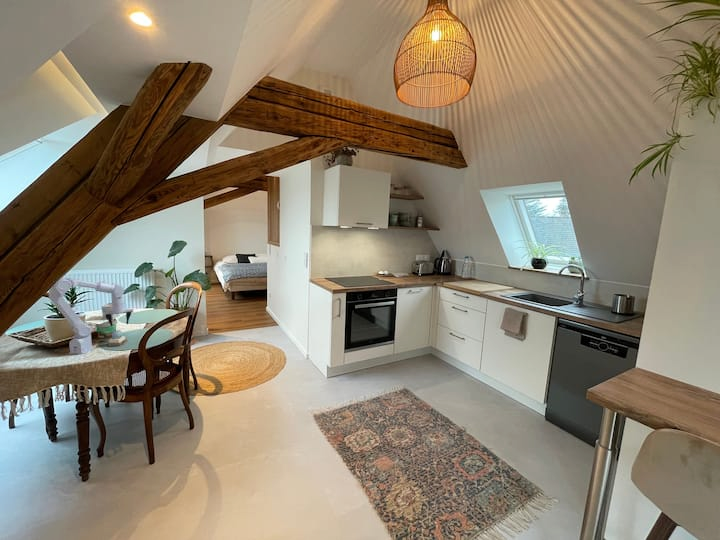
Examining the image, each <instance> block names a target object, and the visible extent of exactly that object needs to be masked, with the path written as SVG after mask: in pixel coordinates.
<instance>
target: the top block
mask: <svg viewBox="0 0 720 540" xmlns="http://www.w3.org/2000/svg"><path fill="white" fill-rule="evenodd" d="M125 339H126V336H125V335H122V338H119V339H112V337H110V338H108V343H120V342H121V341H123V340H125Z"/></svg>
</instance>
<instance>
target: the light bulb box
mask: <svg viewBox="0 0 720 540" xmlns="http://www.w3.org/2000/svg"><path fill="white" fill-rule="evenodd" d="M107 311H112V302H108V303H106V304H105V305H103V306H101V313H102V321H108V320H107V318H106V316H103V312H107ZM120 315H121V314H113V315H112V320H114V319H117V318H119V316H120Z"/></svg>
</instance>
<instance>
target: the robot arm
mask: <svg viewBox="0 0 720 540" xmlns="http://www.w3.org/2000/svg"><path fill="white" fill-rule="evenodd" d="M77 287H82V288H89V289H94V290H95V291H96V292H99V293H106V294H111V303H112V311H107V312H103V314H102V317H103V316H106V318H107V320H106V321H107V322H108V321H109V323H110V325H111V326H113V324H112V315H113V314H120V315H121V314H125V316H126V325H129V320H130V318H131V316H132V313H134V308H129V309H127V308H125V301H124V293H125V289H124V287H123V286H122V285H118V284H117V283H116V284H115V283H109V282H106V281H105V280H104V281H98V282H91V281H86V280H83V279H77V278H70V277H65V278H64V277H62V278H61V279H60V280H59V281H58V282H57V283H56V284H55V285H54V286H53V287H52V288H51V289H50V290H48V299H49V300H50V302H52V304H53V305H54V306H55V307H56V308H57V310H58V311H59V312H60V313H61V314H62V316H63V317H64V318H65V319H66V321H67V322H68V323H69V324H70V326H71V331H72V332H73V333H74V334H73V338H72V339H71V340H70V341H69V345H68V346H69V352H68V355H74V354H75V355H76V354H79V355H81V354H82V355H83V354H86V353H88V352H90V351H92V350H93V349H96V348H97V346H95V345H94V346H93V343H92V330H93V328H92V327H91V326H89V325H87V324H86V323H85V322H84V321H83V320H82V319H81V318H80V317H79V315H78V314H77V313H76V312H75V310H74V308H72V306H71V305H70V304H69V303H68V301H67V300H66V299H65V297H64V296H65V294H66V293H67V292H68V291H69V290H70V289H75V288H77Z"/></svg>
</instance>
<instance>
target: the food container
mask: <svg viewBox="0 0 720 540" xmlns="http://www.w3.org/2000/svg"><path fill="white" fill-rule="evenodd" d="M112 324H113V326H111V325H110V323H109V321H108V320H107V321H104V322H102V323H95V328H96V331H97V336H98V339H102V340H103V339H104V340H105V339H111V338H112V332H113V331H117V324H118V320H117V318H115V319H113V320H112Z"/></svg>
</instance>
